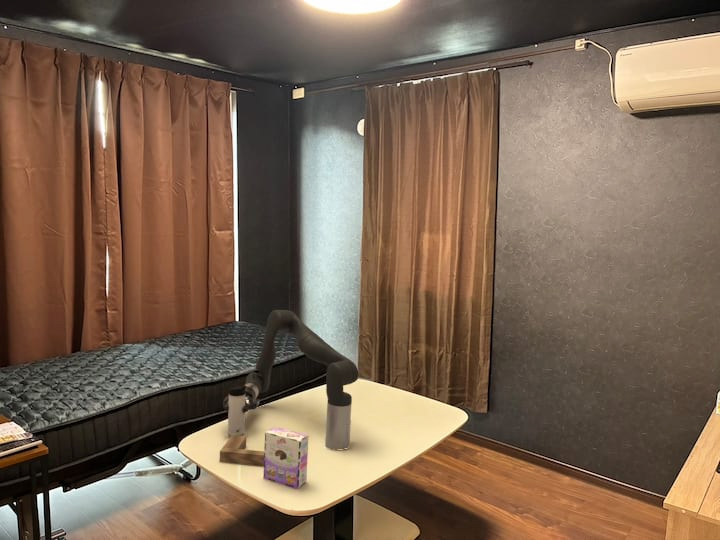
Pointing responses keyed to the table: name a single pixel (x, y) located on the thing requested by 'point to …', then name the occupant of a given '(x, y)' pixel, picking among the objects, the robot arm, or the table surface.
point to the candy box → (285, 457)
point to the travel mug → (236, 410)
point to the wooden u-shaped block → (240, 452)
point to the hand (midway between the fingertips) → (235, 409)
